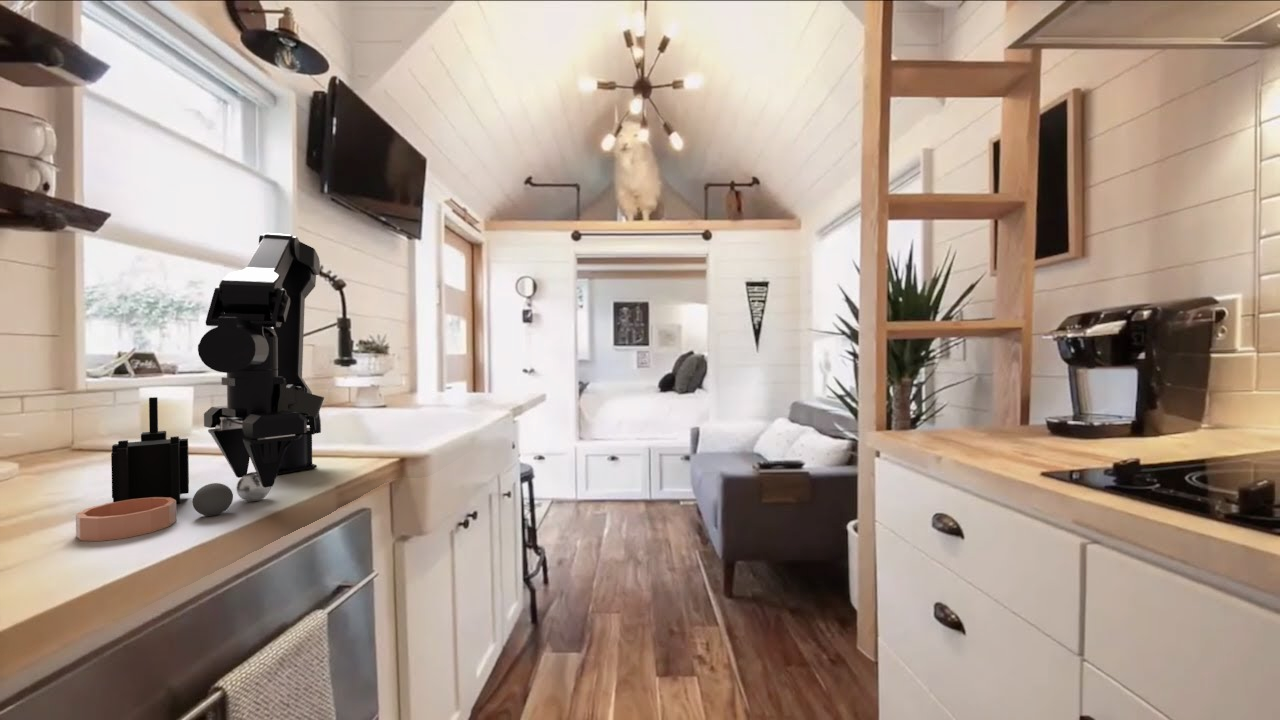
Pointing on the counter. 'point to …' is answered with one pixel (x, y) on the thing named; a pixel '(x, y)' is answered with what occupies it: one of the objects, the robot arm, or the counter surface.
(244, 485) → the steel ball
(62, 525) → the counter surface
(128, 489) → the toy
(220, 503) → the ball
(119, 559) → the counter surface
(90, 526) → the dish
